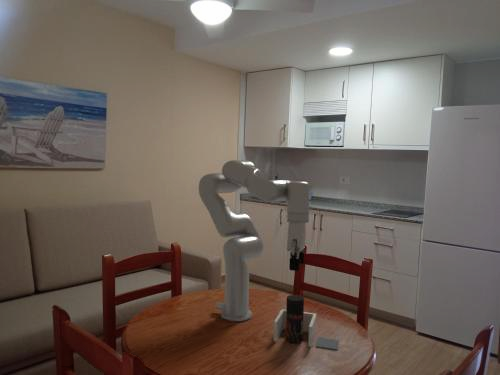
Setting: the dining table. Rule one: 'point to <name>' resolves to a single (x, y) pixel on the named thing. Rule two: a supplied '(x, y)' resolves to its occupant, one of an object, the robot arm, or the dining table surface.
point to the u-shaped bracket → (308, 325)
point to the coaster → (327, 343)
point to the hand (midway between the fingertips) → (296, 266)
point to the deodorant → (294, 319)
